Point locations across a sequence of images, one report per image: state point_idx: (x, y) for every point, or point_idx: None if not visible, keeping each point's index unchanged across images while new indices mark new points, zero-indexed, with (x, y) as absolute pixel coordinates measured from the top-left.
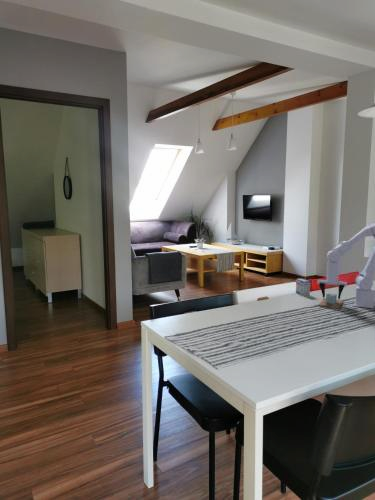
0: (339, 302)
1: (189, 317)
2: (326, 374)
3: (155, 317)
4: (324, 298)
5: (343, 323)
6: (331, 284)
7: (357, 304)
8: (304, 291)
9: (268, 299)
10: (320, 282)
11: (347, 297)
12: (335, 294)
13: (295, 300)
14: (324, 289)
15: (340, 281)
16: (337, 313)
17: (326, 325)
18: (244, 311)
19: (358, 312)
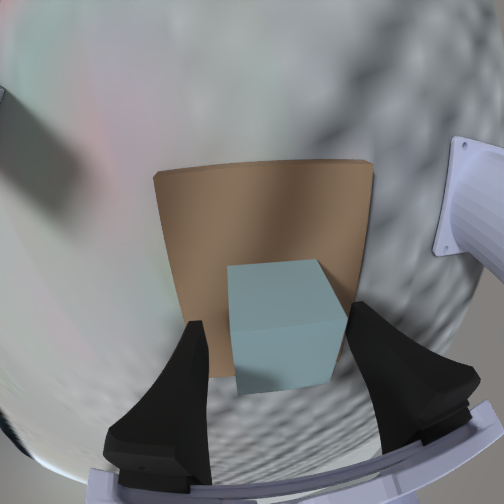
0: (345, 259)
1: (48, 460)
2: (302, 495)
3: (30, 457)
4: (166, 180)
5: (335, 442)
6: (308, 482)
7: (458, 242)
8: None
9: None
10: (139, 498)
11: None
12: (333, 349)
13: (22, 309)
14: (196, 408)
15: (455, 466)
16: (322, 403)
17: (289, 462)
18: (60, 444)
19: (420, 343)
